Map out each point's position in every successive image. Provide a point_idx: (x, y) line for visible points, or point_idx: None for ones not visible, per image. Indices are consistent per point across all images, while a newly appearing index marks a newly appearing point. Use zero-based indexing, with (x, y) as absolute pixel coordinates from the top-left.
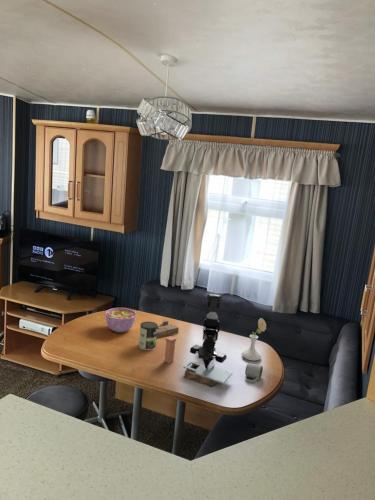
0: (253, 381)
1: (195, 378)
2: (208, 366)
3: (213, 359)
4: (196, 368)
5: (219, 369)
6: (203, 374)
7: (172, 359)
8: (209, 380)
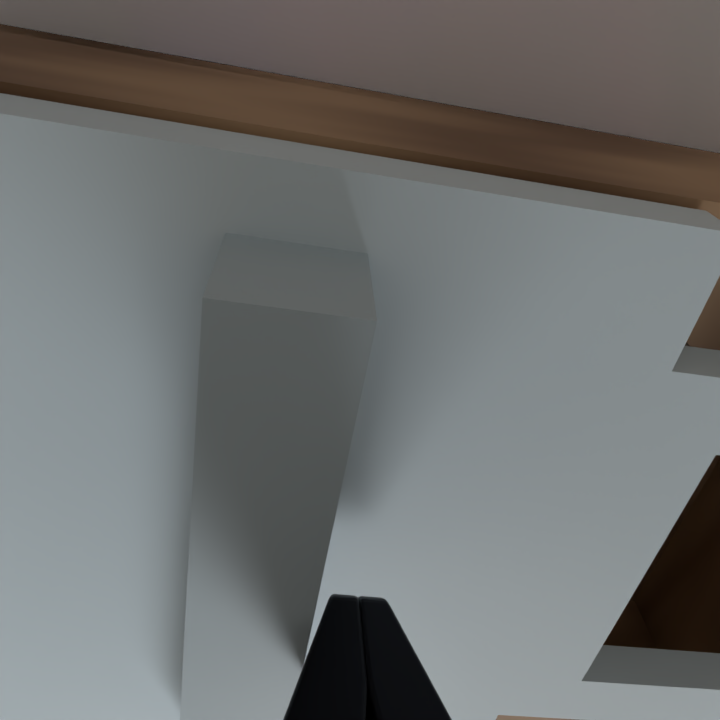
0: None
1: (601, 147)
2: None
3: None
4: None
5: (10, 717)
6: (356, 252)
7: None
8: (29, 77)
